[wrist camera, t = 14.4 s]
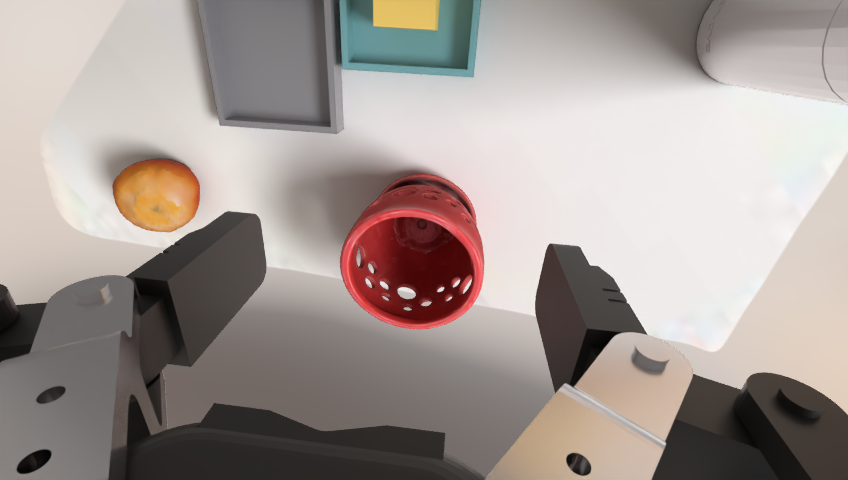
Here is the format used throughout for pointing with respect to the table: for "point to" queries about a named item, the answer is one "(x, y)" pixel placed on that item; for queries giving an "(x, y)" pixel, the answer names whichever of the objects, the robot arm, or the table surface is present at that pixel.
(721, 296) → the table surface
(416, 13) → the marked block
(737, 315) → the table surface
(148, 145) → the table surface
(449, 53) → the tray
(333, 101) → the tray
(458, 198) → the plant pot
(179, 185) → the fruit
